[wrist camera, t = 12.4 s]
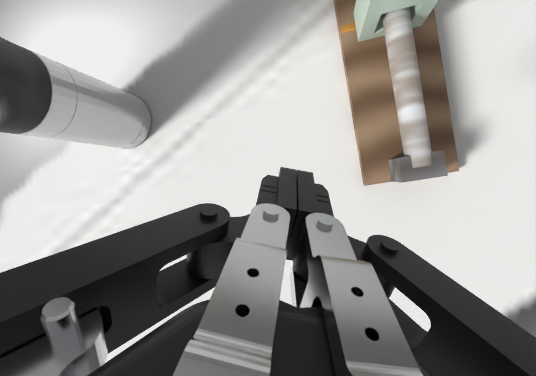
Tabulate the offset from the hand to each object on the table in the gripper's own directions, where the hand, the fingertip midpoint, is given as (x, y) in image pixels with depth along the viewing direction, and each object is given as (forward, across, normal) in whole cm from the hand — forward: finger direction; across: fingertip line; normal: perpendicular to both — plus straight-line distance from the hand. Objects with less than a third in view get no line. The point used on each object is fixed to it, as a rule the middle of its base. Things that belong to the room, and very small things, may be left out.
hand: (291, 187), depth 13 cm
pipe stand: (+32, -12, -6) cm, 35 cm away
